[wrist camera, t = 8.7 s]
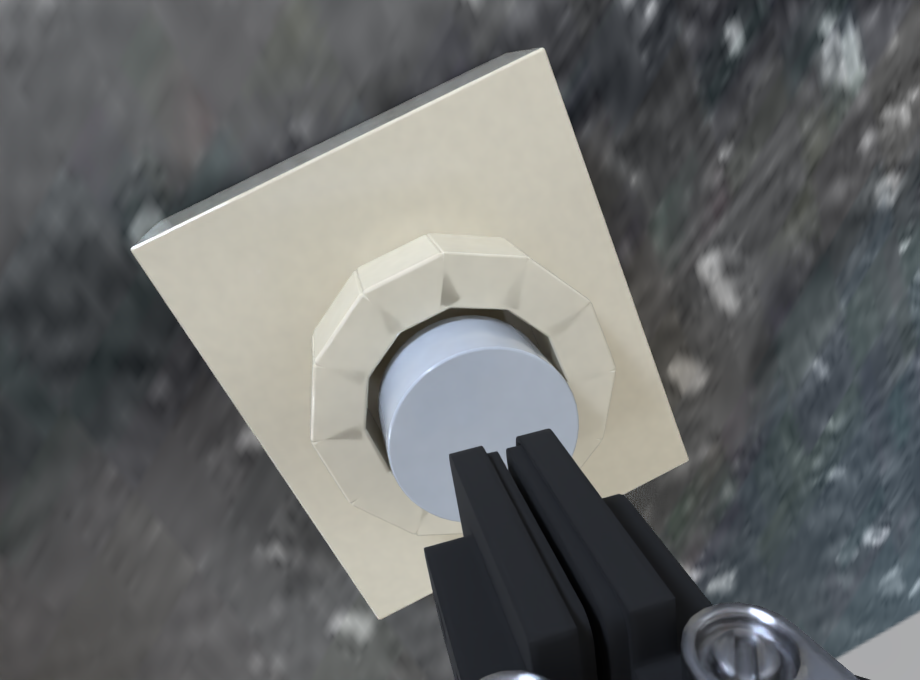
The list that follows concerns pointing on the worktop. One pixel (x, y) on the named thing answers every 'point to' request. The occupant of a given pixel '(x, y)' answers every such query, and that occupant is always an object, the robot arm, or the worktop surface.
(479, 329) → the pale blue cylinder
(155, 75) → the worktop surface
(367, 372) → the button base
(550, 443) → the robot arm
